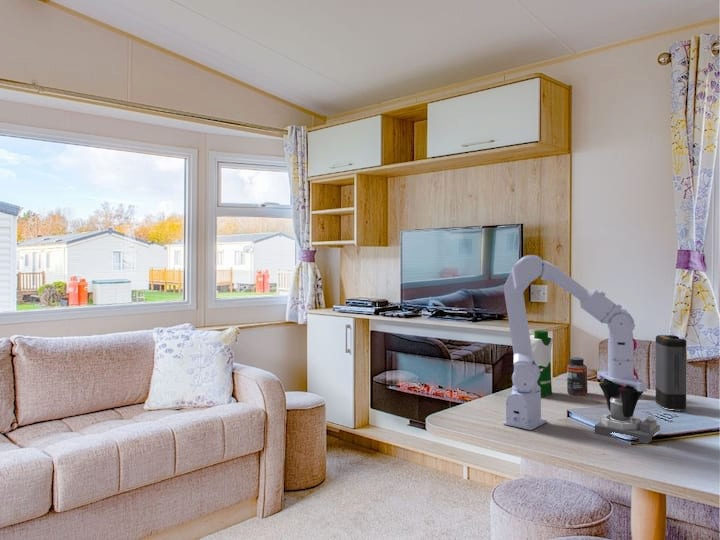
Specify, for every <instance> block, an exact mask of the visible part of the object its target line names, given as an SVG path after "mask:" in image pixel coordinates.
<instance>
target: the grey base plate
mask: <svg viewBox="0 0 720 540" xmlns="http://www.w3.org/2000/svg"><path fill="white" fill-rule="evenodd" d="M630 419H631V421H630V422H625V423H622V422H616V421H611V420H610V413H605V414H603V415H601V416H600V421H599V422H597V423H596V424H595V425H594V434H596V435H601V436H607V437H610V438H611V437H612V435H611V434H610V433H612V432H613V433H614V432H615V433H620V434H626V435H630V436H633V437H637V438H639V442H640V443H639V442H638V443H639V444H644V445H648V444H650V443H651V442H652V441H653V440H652V437H653V435H654V434H655V433H656V432H658V431H659V430H660V431H661V425H660V424H657V422H658V421H657V419H655V418H654V417H651V416H647V417H646V419H644V420H643V421H642V419H640V418H638V417H636V416H635V415H633V417H630ZM612 438H613V437H612Z"/></svg>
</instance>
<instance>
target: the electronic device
mask: <svg viewBox="0 0 720 540" xmlns="http://www.w3.org/2000/svg"><path fill="white" fill-rule="evenodd" d="M655 403H656V404H657V403H658V404H659V405H660V406H662V407H664V408H668V409H674V410H680V411H679V412H686V411H687V340H686V339H685V338H680V337H679V336H678V335H668V334H666V335H665V334H663V335H662V334H659V335H656V336H655ZM658 404H657V405H658ZM659 405H658V406H659ZM660 406H659V407H660ZM662 407H661V408H662Z"/></svg>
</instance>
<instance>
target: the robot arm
mask: <svg viewBox="0 0 720 540" xmlns="http://www.w3.org/2000/svg"><path fill="white" fill-rule="evenodd" d="M511 268H512V269H511V270H510V273H509V276H508V277H507V279H506V281H505V284H504V286H503V292H504V294H503V295H504V299H505V306H506V310H507V311H506V312H507V317H508V318H507V319H508V320H507V321H508V325H509V332H510V338H511V346H512V351H513V361H512V362H513V373H512V375H511V381H512V386H511V393H510V394H509V395H508V396H507V399H506V402H505V411H506V412H505V415H506V417H505V421H502V424H503V425H506V426H511V427H515V428H516V427H517V428H521V429H524V430H528V431H529V430H530V431H532V430H534V429H536V428H538V427H540V426H541V425H543V424H546V423H547V422H548V420H547V419H545V418H542V397H541V387H540V386H539V385H538V384H537V380H538V379H539V377H540V369H539V367H538V366H537V364H536V363H535V359H534V355H533V352H532V347H531V341H530V335H531V334H530V328H529V321H528V316H527V315H528V314H527V309H526V303H525V296H524V292H525V290H526V289H527V288H528V287H529V286H530V284H531V283H532V282H533V281H535V280H536V279H538V278H540V277H541V279H540V280H541V281H544V282H545V281H546V282H553V283H554V284H556V285H557V286H558V287H560V288H562V290H565V291H566V292H568V293H569V294H571V295H572V296H573V297H574V298H576V299H577V300H579V304H580V308H581V309H582V310H584V311H585V312H586V313H588V314H589V315H590V316H592V317H593V318H594V319H595V320H598V322H600V323H601V324H607V327H608V333H609V334H608V336H609V337H608V340H607V371H606V370H597V371H596V372H597V373H596V374H597V375H596V376H597V377H596V379H598V380H603V381H602V382H599V383H598V384H599V387H600V389H601V390H602V393H603V395H604V397H605V399H606V405H607V407H608V411H609V412H610V407H611V403H610V399H611V397H612V396H619V395H621V398H622V404H623V415H624V417H633V416H634V412H635V410H636V407H637V403H638V402H639V399H640V398H641V396H642V394H644V392H647V391H648V390H647V382H645V381H642V380H640V379H639V380H638V379H636V376H634V368H635V365H634V358H635V357H634V352H635V350H634V342H633V340H632V339H633V338H634V333H633V331H634V330H635V329H636V328H635V327H636V323H635V320H634V318H633V316H632V315H631V314H630V313H629V311H627V309H623V306H622V305H621V304H619V303H618V304H616V303H615V302H614V301H612V300H611V299H610V298H608V297H606V293H605V292H604V291H603V290H600V291H598V290H597V289H590V290H589V289H587V288H585V287H584V286H582V285H581V284H580V283H579V282H578V281H576V280H574V279H573V278H572V277H571V276H570V275H568V274H567V273H566V272H565V271H563V270H562V269H560V268H559V267H558V266H556V265H555V264H552V262H551V263H550V262H549V261H548V260H543V258H541V257H540V256H539V255H534V254H527V255H524V256H522V257H520V259H518V261H516V263H514V265H513V266H512V267H511ZM622 385H623V386H626V388H621V387H622Z"/></svg>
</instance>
